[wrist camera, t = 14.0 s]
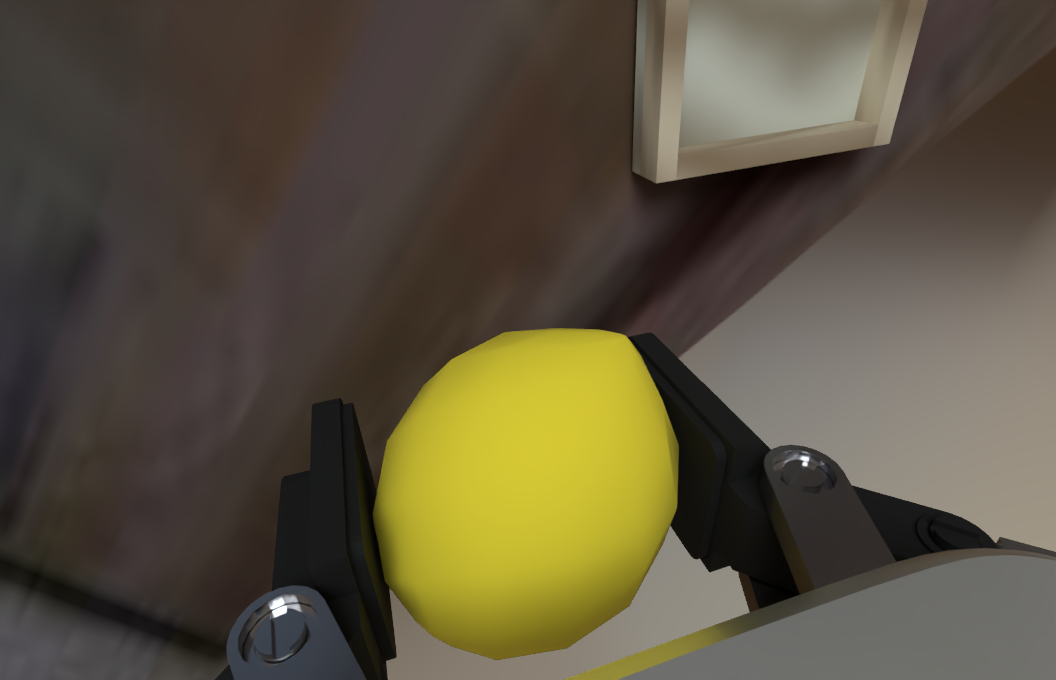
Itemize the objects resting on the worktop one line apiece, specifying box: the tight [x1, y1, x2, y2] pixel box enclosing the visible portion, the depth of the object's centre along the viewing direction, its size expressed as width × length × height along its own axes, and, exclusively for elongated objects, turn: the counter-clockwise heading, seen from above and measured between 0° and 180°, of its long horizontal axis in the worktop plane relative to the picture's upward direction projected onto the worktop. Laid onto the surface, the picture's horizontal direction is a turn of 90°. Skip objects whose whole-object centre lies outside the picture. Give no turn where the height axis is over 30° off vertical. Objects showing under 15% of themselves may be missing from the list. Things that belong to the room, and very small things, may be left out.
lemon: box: [373, 328, 679, 660], centre depth 11 cm, size 7×5×5 cm
